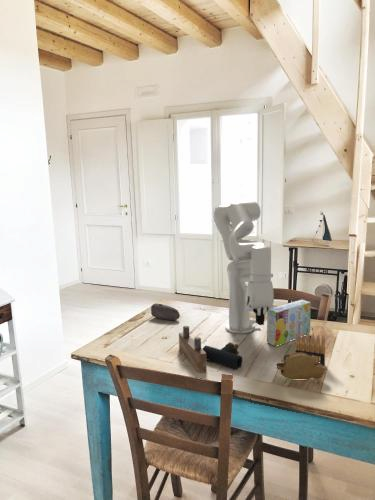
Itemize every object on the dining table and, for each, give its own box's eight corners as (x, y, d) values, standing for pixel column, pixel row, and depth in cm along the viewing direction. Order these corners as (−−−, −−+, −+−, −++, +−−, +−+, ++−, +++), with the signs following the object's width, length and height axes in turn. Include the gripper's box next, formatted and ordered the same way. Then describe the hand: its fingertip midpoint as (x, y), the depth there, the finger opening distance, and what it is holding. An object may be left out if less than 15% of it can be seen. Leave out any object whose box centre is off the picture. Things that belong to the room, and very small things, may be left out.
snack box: (300, 331, 180) (301, 298, 177) (310, 335, 175) (312, 302, 173) (266, 343, 168) (266, 308, 166) (275, 347, 164) (276, 312, 161)
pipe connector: (218, 337, 162) (251, 346, 153) (218, 349, 163) (251, 359, 154) (201, 348, 153) (235, 358, 144) (201, 360, 154) (235, 372, 145)
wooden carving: (321, 375, 141) (322, 348, 139) (325, 382, 137) (327, 354, 135) (274, 376, 141) (275, 349, 139) (277, 383, 136) (278, 355, 135)
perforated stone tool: (182, 319, 196) (181, 305, 195) (177, 323, 192) (176, 309, 190) (155, 315, 203) (155, 301, 202) (150, 318, 199) (149, 305, 197)
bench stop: (186, 348, 164) (185, 322, 162) (206, 371, 145) (206, 342, 143) (179, 349, 163) (178, 323, 161) (198, 373, 144) (198, 344, 142)
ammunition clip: (294, 362, 151) (295, 332, 148) (294, 360, 152) (295, 330, 150) (324, 367, 147) (326, 336, 145) (324, 365, 149) (326, 334, 146)
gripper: (272, 274, 160) (271, 318, 163) (238, 277, 155) (238, 323, 158) (282, 278, 153) (282, 324, 156) (247, 282, 148) (247, 329, 151)
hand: (260, 323), depth 157 cm, fingers closed
